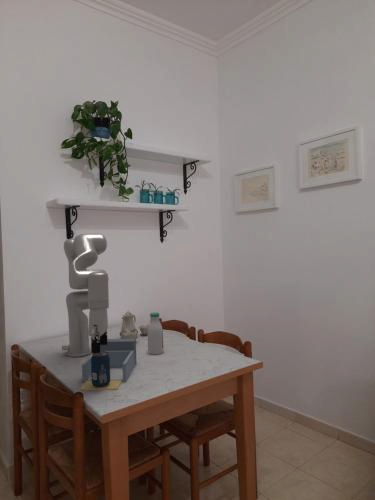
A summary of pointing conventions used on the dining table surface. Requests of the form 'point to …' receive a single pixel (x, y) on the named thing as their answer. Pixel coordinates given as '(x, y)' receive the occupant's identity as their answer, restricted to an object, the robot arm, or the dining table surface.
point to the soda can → (100, 369)
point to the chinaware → (131, 327)
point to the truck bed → (116, 357)
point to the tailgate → (111, 386)
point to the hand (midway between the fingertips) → (99, 348)
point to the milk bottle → (155, 335)
